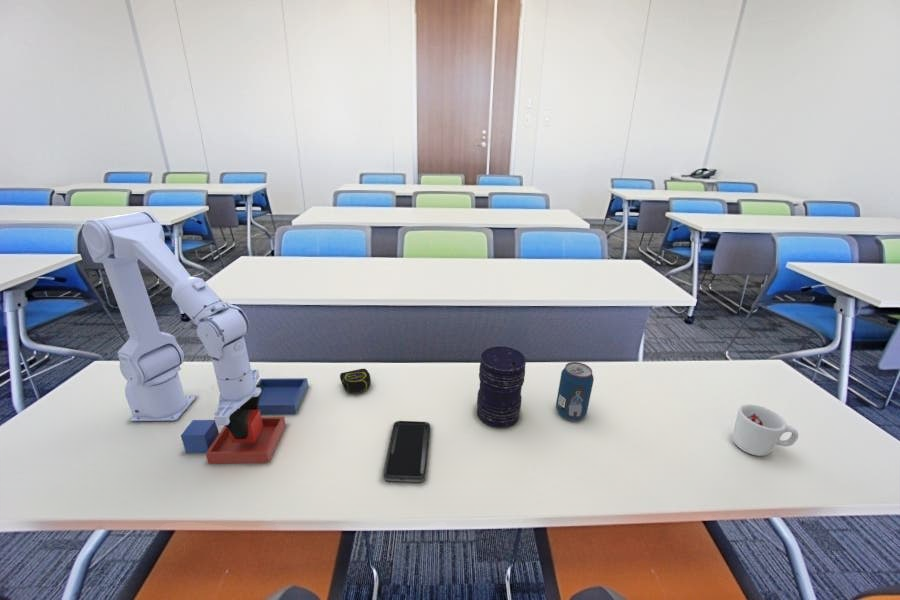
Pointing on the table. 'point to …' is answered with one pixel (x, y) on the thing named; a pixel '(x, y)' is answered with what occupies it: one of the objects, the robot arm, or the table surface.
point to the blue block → (199, 436)
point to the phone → (407, 452)
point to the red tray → (247, 445)
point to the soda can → (574, 391)
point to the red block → (251, 427)
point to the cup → (760, 430)
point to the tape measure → (355, 380)
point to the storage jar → (500, 386)
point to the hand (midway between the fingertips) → (246, 429)
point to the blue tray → (281, 395)
